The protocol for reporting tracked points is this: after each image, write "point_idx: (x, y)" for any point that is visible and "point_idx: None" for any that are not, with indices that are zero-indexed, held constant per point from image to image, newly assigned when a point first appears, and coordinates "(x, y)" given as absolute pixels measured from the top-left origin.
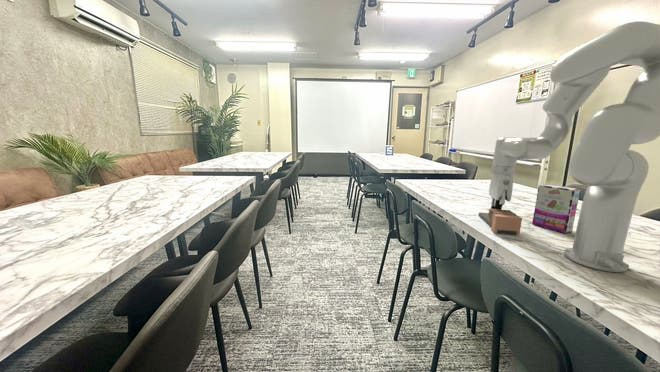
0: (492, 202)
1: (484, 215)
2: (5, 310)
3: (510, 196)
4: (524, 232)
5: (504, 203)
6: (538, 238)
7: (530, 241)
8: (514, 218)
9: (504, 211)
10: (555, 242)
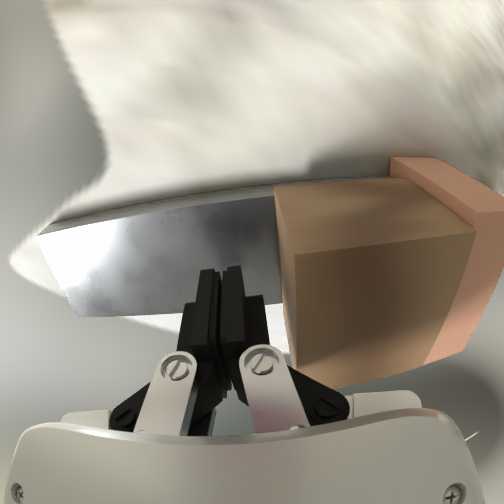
0: (210, 422)
1: (128, 303)
2: (467, 439)
3: (474, 473)
4: (362, 86)
5: (420, 403)
6: (443, 61)
7: (487, 138)
8: (501, 256)
9: (378, 315)
10: (464, 13)
